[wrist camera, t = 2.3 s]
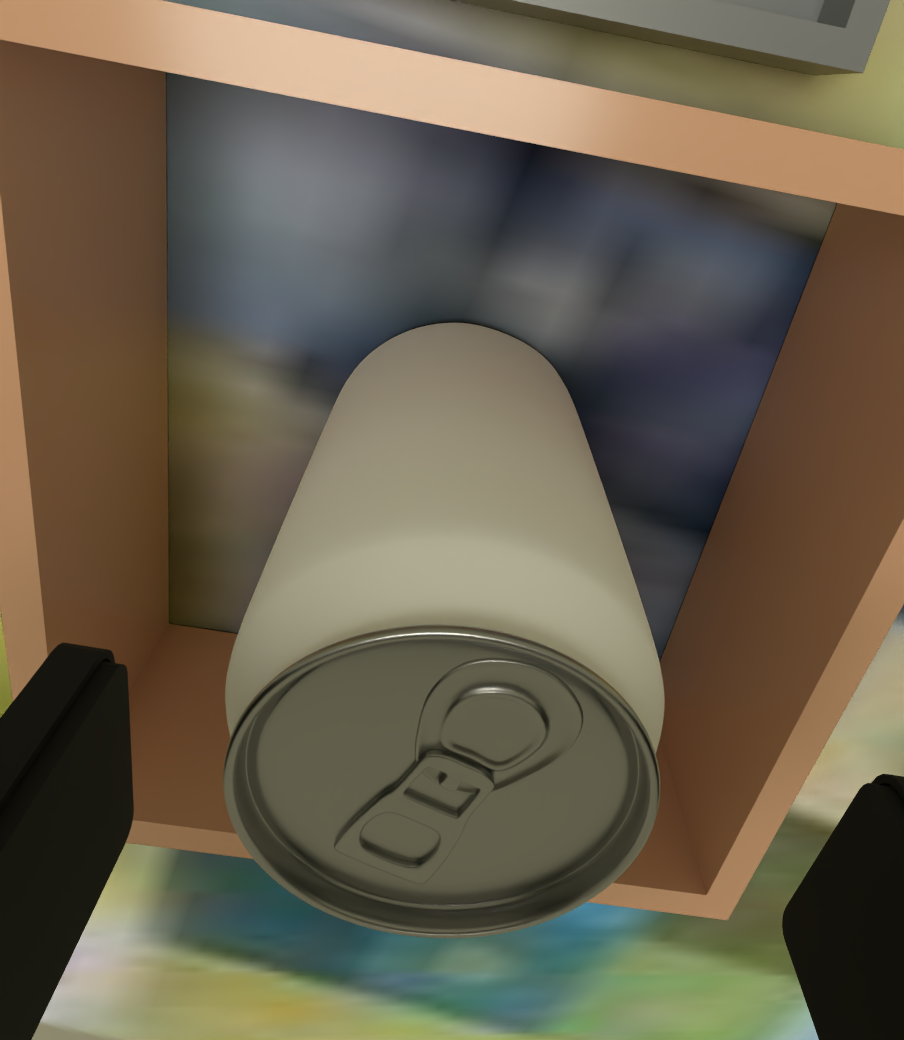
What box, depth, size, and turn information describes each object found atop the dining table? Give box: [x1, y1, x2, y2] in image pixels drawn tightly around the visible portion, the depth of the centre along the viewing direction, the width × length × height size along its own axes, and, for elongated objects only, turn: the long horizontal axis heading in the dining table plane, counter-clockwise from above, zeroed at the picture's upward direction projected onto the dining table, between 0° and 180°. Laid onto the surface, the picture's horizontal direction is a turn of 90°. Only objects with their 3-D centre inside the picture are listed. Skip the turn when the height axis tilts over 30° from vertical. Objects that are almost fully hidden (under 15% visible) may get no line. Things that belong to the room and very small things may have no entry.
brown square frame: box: [0, 0, 904, 920], centre depth 17 cm, size 17×17×7 cm
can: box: [223, 323, 665, 938], centre depth 15 cm, size 6×6×12 cm
